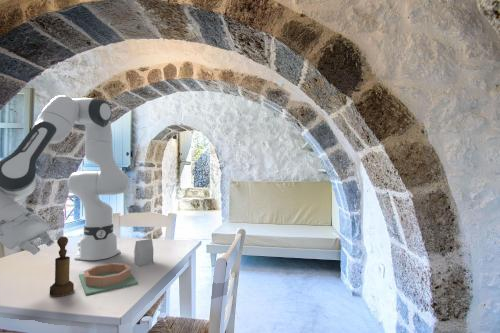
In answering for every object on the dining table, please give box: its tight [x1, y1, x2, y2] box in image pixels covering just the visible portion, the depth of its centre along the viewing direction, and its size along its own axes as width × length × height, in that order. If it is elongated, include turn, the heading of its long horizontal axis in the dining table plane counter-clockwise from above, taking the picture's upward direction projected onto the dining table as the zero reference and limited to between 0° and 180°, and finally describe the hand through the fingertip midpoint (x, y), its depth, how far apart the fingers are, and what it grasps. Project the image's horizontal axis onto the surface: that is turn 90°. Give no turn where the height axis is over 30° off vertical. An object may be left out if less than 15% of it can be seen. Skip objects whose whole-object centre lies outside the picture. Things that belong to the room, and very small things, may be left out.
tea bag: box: [133, 238, 154, 267], centre depth 122 cm, size 4×7×10 cm, turn 131°
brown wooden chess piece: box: [49, 236, 75, 297], centre depth 93 cm, size 7×6×18 cm
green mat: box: [78, 272, 139, 296], centre depth 104 cm, size 20×16×1 cm
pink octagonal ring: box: [83, 262, 132, 287], centre depth 104 cm, size 14×14×3 cm
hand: (45, 248), depth 92 cm, fingers open, 8 cm apart
